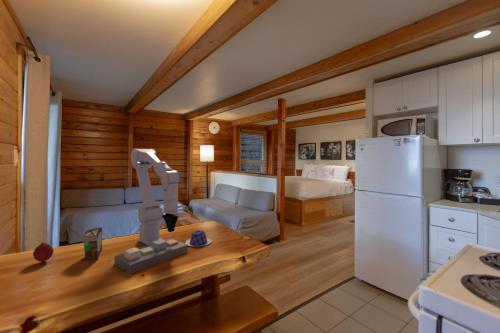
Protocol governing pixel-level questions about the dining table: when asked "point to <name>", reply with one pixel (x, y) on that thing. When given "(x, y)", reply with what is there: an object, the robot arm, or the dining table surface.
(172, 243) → the key terracotta
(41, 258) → the onion
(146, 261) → the keypad board
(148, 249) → the key sage
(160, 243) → the key slate
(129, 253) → the key ivory
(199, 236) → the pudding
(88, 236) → the food container
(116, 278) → the dining table surface
